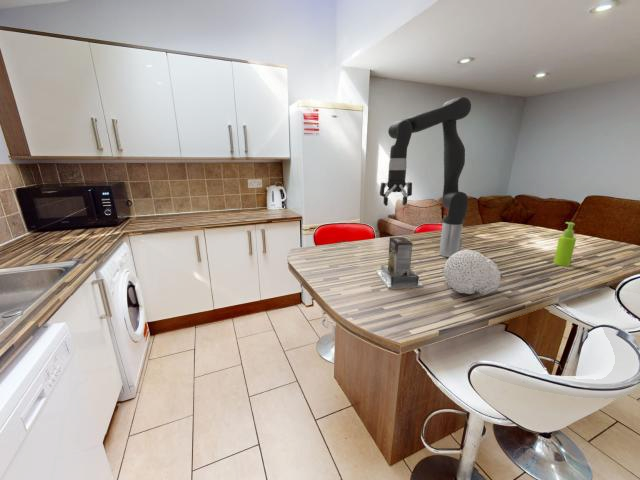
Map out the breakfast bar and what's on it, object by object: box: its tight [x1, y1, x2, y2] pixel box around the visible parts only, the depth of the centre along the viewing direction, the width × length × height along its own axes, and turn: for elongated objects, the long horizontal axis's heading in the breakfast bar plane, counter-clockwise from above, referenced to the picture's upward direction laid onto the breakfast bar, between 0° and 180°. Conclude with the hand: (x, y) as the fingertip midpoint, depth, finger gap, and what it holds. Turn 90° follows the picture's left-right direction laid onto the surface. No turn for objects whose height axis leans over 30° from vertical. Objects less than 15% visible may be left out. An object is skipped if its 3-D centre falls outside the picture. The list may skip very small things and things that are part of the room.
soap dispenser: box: [553, 221, 577, 267], centre depth 127 cm, size 6×7×20 cm
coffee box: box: [387, 236, 413, 277], centre depth 111 cm, size 9×6×16 cm
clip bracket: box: [375, 265, 424, 290], centre depth 113 cm, size 14×17×4 cm
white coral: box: [443, 249, 502, 296], centre depth 102 cm, size 20×18×16 cm
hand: (394, 205), depth 125 cm, fingers open, 8 cm apart
